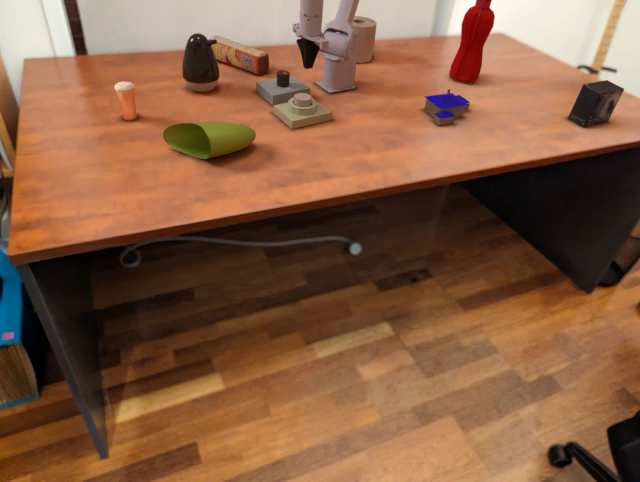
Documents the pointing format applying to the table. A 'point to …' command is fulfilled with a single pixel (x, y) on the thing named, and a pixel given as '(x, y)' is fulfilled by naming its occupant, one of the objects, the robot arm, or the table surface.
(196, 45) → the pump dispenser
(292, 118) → the button base
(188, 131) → the green scoop
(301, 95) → the button
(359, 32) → the toilet paper roll
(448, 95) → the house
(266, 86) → the dial panel
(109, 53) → the table surface
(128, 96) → the milkshake
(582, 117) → the small box
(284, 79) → the lock dial
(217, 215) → the table surface
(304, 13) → the robot arm
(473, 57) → the water bottle
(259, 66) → the snack package
